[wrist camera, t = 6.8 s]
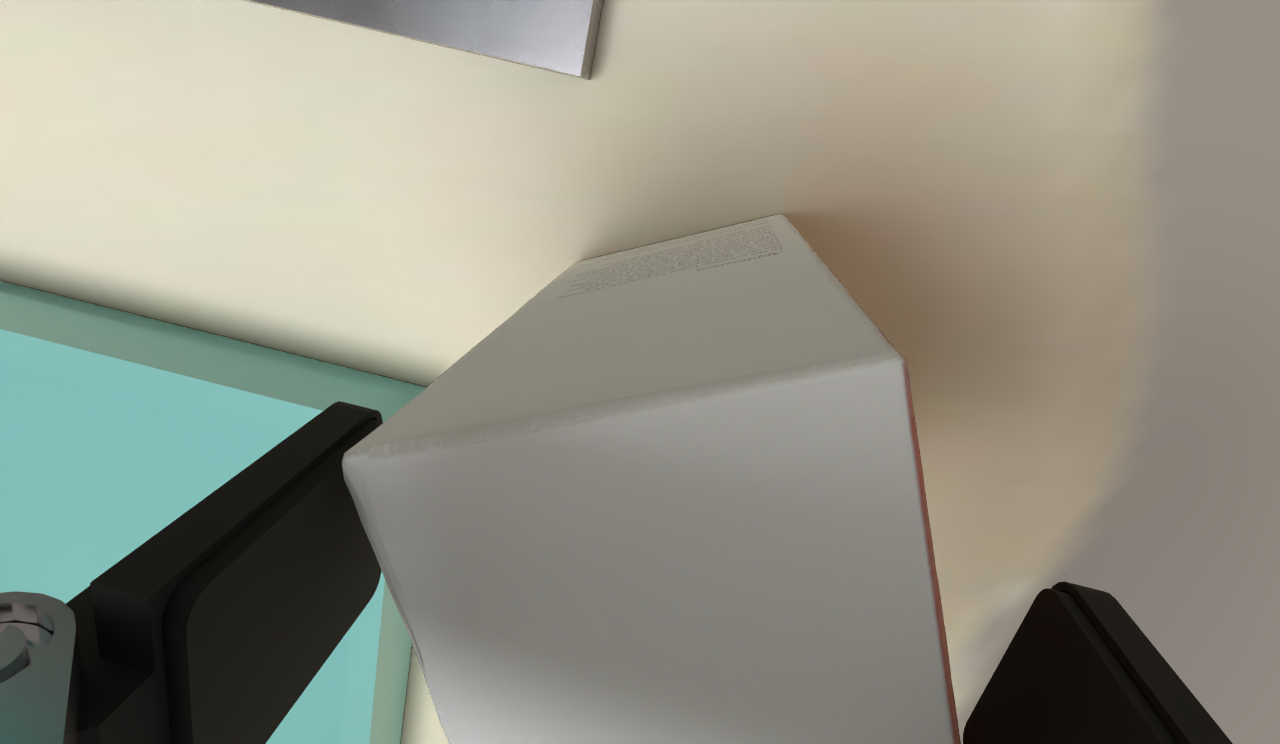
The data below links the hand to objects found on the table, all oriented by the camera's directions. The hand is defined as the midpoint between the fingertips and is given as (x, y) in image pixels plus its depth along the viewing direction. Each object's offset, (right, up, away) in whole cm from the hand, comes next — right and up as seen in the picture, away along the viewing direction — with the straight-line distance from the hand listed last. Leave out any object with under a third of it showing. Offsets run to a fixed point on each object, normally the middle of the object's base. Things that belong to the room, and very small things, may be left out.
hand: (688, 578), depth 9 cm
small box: (+1, +3, +11) cm, 11 cm away
